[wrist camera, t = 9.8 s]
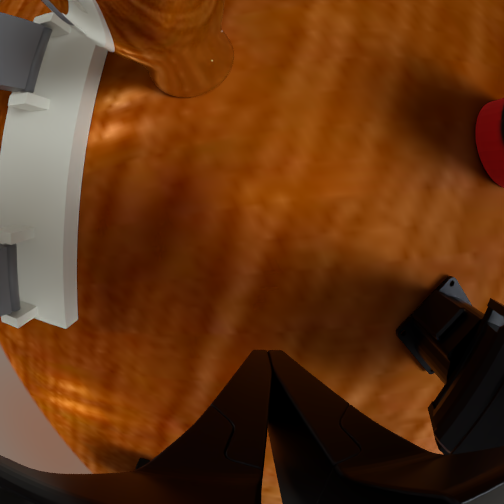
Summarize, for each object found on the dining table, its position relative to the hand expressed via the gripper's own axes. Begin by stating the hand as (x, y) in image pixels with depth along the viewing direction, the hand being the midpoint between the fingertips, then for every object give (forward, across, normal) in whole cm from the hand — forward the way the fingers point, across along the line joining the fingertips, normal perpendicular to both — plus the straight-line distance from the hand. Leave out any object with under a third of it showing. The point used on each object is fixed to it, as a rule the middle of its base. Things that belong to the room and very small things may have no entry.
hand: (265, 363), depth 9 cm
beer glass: (+14, +5, -14) cm, 20 cm away
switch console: (+14, +17, -6) cm, 23 cm away
